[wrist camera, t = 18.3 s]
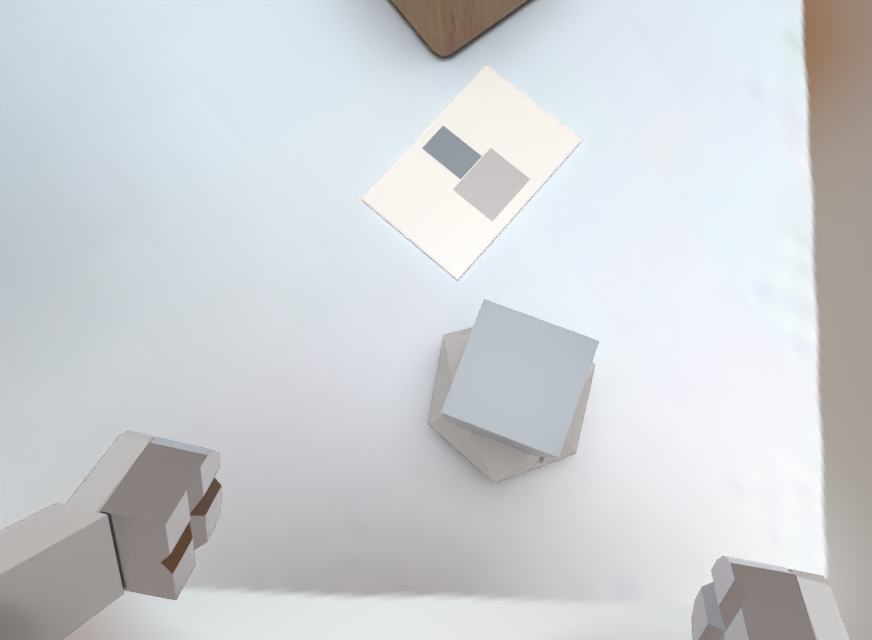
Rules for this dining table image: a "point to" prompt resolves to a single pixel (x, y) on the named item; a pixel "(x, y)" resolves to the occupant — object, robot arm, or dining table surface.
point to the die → (482, 450)
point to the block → (453, 20)
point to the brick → (519, 380)
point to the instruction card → (471, 171)
